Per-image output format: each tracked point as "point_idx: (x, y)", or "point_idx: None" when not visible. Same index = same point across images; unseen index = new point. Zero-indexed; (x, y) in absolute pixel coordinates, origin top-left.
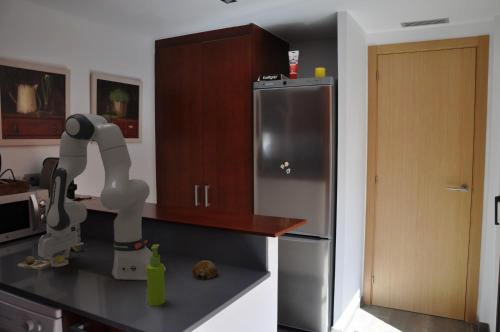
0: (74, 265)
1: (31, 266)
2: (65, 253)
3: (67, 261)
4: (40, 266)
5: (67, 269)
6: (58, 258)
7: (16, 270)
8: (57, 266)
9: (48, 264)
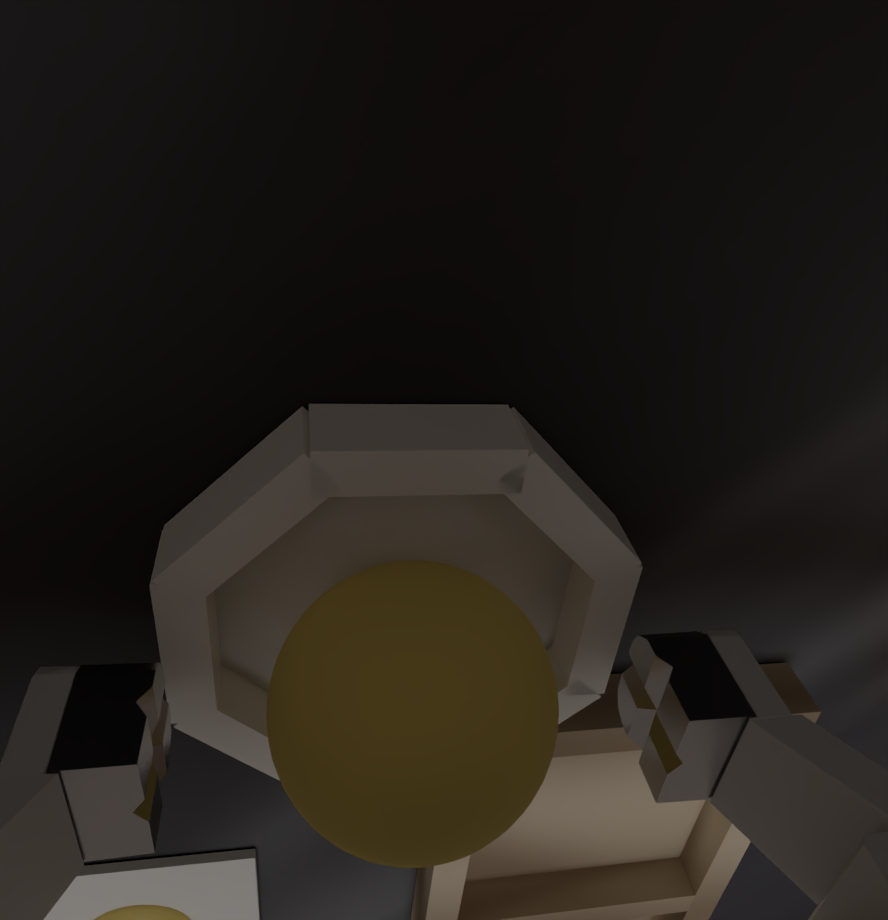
0: (356, 89)
1: (735, 862)
2: (67, 855)
3: (303, 479)
4: (622, 788)
5: (794, 52)
6: (542, 715)
7: (771, 907)
8: (604, 511)
9: (614, 723)
